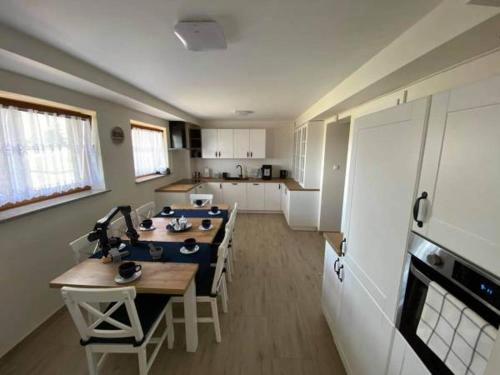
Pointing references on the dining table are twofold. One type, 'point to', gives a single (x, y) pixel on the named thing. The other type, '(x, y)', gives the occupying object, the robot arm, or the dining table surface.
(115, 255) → the housing
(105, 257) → the robot arm
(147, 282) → the dining table surface
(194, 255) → the dining table surface
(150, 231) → the dining table surface
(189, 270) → the dining table surface
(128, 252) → the plug
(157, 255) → the mortar and pestle
